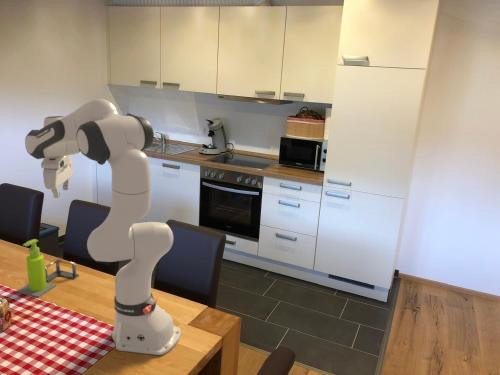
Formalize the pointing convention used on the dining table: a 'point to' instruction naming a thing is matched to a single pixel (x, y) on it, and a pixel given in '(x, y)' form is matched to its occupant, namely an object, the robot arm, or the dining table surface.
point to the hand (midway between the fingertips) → (61, 193)
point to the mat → (27, 291)
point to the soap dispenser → (35, 267)
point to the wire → (61, 273)
